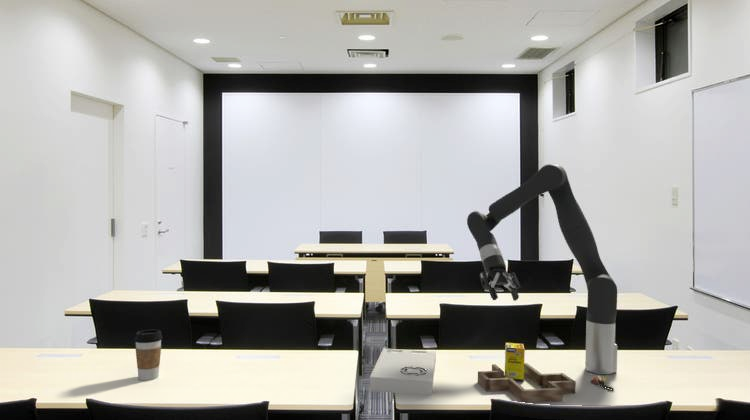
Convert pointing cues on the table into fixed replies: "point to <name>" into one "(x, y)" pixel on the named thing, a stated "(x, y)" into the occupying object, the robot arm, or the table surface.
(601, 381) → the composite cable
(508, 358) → the supplement box
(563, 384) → the trap lane
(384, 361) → the white flat box
